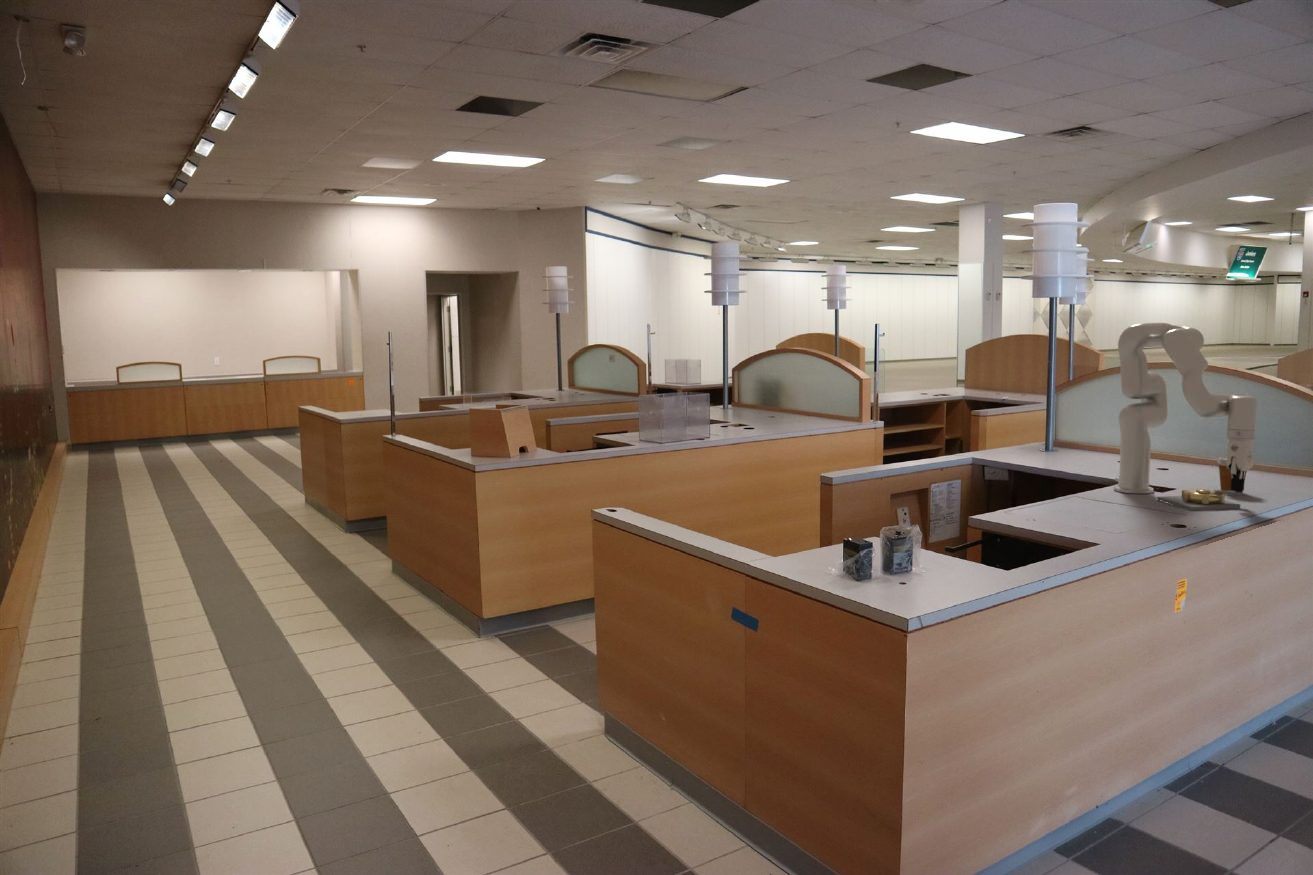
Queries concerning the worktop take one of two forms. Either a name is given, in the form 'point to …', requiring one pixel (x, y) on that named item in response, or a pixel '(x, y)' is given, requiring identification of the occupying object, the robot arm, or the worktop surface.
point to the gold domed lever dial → (1207, 496)
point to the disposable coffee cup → (1225, 474)
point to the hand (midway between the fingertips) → (1237, 490)
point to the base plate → (1197, 504)
